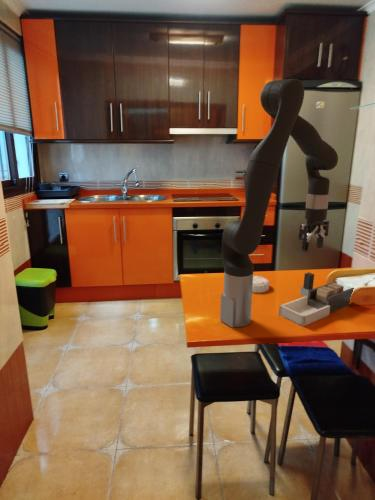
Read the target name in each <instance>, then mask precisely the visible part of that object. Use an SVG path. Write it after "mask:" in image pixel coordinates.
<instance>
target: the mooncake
mask: <svg viewBox="0 0 375 500" xmlns="http://www.w3.org/2000/svg"><path fill="white" fill-rule="evenodd" d="M269 288H270V281H269V279H267V278H266V277H263V276H260V275H253V287H252V294H254V293H259V294H260V293H264V292H267V291H269Z"/></svg>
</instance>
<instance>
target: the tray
mask: <svg viewBox="0 0 375 500" xmlns="http://www.w3.org/2000/svg"><path fill="white" fill-rule="evenodd" d="M307 300H308V297H307V296H302V297H300V298H297V299H294V300H292V301H289V302H286V303H283V304H280V305H279V308H278V316H281V317H283V318H284V319H287V320H289V321H291V322H293V323H294V324H297V325H298V326H301V327H306V326H307V325H309V324H310V325H311V324H313V323H314V322H317V321H319V320H322V319H325V318H326V317H329V316H330V313H329V312H330V306H329V305H327V306H325V307H322V308H320V309H316V308H314V307H311V306H309V305H307Z"/></svg>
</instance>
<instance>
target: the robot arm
mask: <svg viewBox="0 0 375 500" xmlns="http://www.w3.org/2000/svg"><path fill="white" fill-rule="evenodd" d="M304 86H305V85H304V83H303V82H302V81H301V80H300V79H299V78H298V79H297V78H286V79H276V80H272V81H271V80H270V81H269V82H267V83H266V84H264V86H263V87H262V89H261V91H260V104H261V107H262V109H263V110H264V112H266V113H267V114H268V115H269V116H270V117H271V118H272V119H273V120H274V121H273V124H272V126H271V128H270V130H269V131H268V133H266V135H265V137H264V138H263V139H262V140H261V141H260V142H259V144H258V145H257V146H256V147H255V148H254V150H253V151H252V153H251V154H250V157H249V159H248V163H247V167H246V170H245V174H244V180H243V185H244V197H245V203H244V204H245V205H244V211H243V214H242V216H241V221H240V220H232V221H230V222H229V223H228V224H226V226H225V227H224V228H223V232H222V237H221V260H222V263H223V267H224V268H223V271H224V273H223V293H221V295H220V317H219V318H220V319H219V320H220V321H221V322H222V323H224V324H225V325H227V326H229V327H230V328H231V329H232V328H233V329H234V328H242V327H246V326H248V325H250V324H251V320H252V302H253V301H252V300H253V292H252V287H253V276H254V268H255V267H254V264H253V262H252V260H251V258H250V256H249V255H252V254H253V253H255V251H256V250H257V248H258V247H259V245H260V242H261V240H262V236H263V235H262V234H263V230H264V224H265V220H266V214H267V211H268V208H269V203H270V200H271V198H272V197H271V196H272V194H273V189H274V187H275V184H276V181H277V178H278V175H279V172H280V170H281V168H280V167H281V165H282V164H281V163H282V161H283V160H282V159H283V158H284V154H285V150H286V148H287V145H288V141H289V139H290V137H291V138H292V139H293V140H294V142H295V143H296V144H297V146H298V148H300V150H301V152H302V153H303V154H304V156H306V157H305V160H304V161H305V168H306V174H307V179H308V181H307V182H308V185H307V195H306V201H305V211H304V219H305V220H306V223H300V225H299V231H298V240H299V241H301V243H302V244H301V250H302V252H305V253H306V252H309V247H310V240H311V238H313V237H314V235H316V236H317V239H316V248H318V249H322V248H323V246H324V239H326V238H325V237H328V236H329V229H330V228H329V226H330V220H327V216H328V210H329V209H328V208H329V207H328V206H329V194H330V193H329V192H330V184H331V183H330V182H331V181H330V178H328V177H326V176H323V175H321V173H320V171H331V170H334V169H335V168H336V166H337V165H338V161H339V156H338V153H337V151H336V150H335V148H333V146H332V145H330V144H329V143H328V142H326V141H325V140H323V139H322V136H321V134H320V133H319V132H318V130H317V129H316V127H315V126H314V125H313V124H312V123H310V122H309V121H308V120H306V118H304V117H302V116H300V115H299V114H300V111H301V109H302V107H303V103H304V100H305V99H304V98H305V87H304Z"/></svg>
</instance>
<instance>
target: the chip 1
mask: <svg viewBox="0 0 375 500" xmlns="http://www.w3.org/2000/svg"><path fill="white" fill-rule="evenodd" d="M333 294H334V290H333V289H330V288H327V287H325V286H324V287H321V288H318V289H317V295H316V299H317V300H320V301H322V302H325V303H326V299H327V297H329V296H332V295H333Z"/></svg>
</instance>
